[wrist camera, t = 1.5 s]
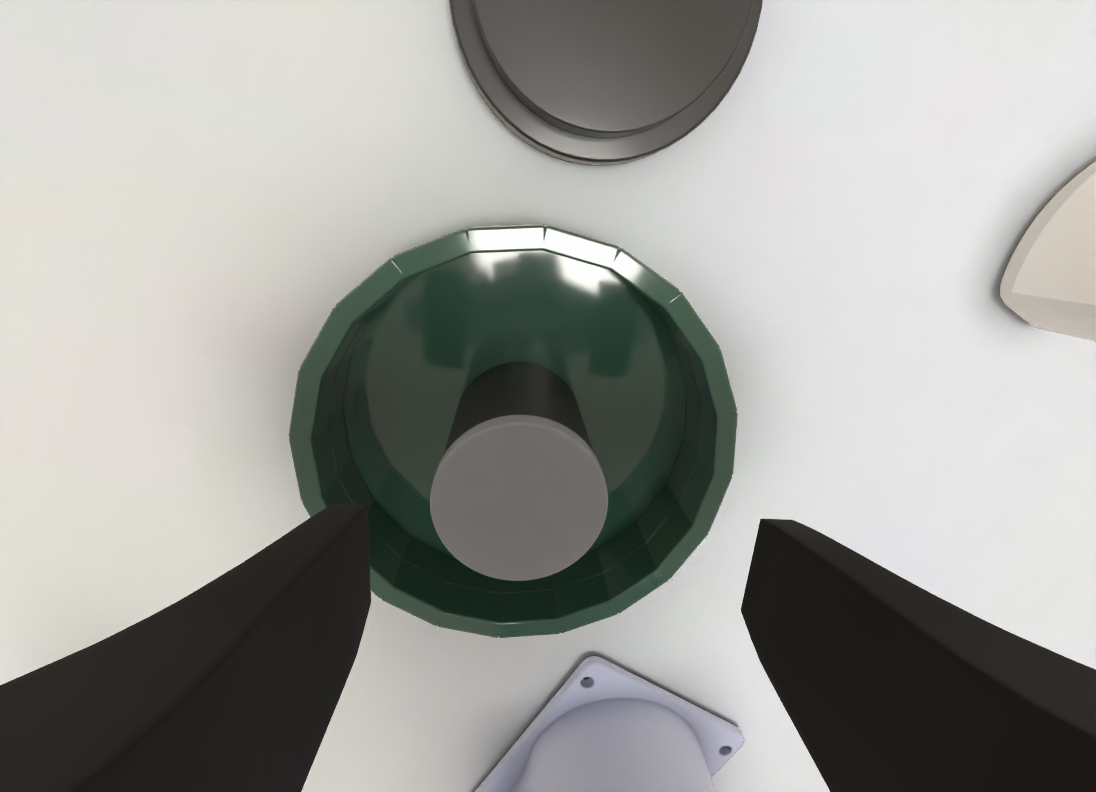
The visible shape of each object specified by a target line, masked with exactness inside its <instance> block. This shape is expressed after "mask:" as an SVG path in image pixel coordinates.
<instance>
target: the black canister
mask: <svg viewBox="0 0 1096 792" xmlns="http://www.w3.org/2000/svg"><path fill="white" fill-rule="evenodd" d="M607 509H608V492H607V485H606V481H605V477H604V474H603V472H602V469H601V466H600V464H599V461H598V459H597V457H596V456H595V454H594V451H593V448H592V445H591V443H590V440H589V437H588V434H587V431H586V428H585V425H584V422H583V419H582V416H581V413H580V410H579V407H578V404H577V401H576V399H575V396H574V394H573V393H572V391H571V389H570V388H569V387H568V385H567V384H566V383H565V382H564V381H563V380H562V379H561V378H560V377H559V376H557V375H556V374H555V373H553V372H551V371H550V370H548V369H546V368H543V367H541V366H538V365H534V364H530V363H522V362H521V363H507V364H502V365H499V366H496V367H493V368H491V369H489V370H487V371H485V372H483V373H482V374H481V375H479V376H478V377H477V378H475V379H474V380H473V381H472V382H471V383H470V385H469V386H468V387H467V389H466V390H465V391H464V393H463V395H462V397H461V399H460V402H459V404H458V408H457V411H456V414H455V418H454V421H453V424H452V428H451V431H450V434H449V438H448V441H447V444H446V448H445V451H444V454H443V458H442V459H441V461H440V463H439V466H438V468H437V471H436V473H435V477H434V480H433V484H432V488H431V495H430V510H431V516H432V521H433V524H434V527H435V529H436V532H437V534H438V536H439V537H440V539H441V541H442V543H443V544H444V545H445V547H446V548H447V549H448V551H449V552H450V553H451V554H452V555H453V556H454V557H455V558H456V559H458V560H459V561H460V562H461V563H463V564H464V565H466V566H467V567H469V568H471V569H472V570H474V571H476V572H479V573H481V574H483V575H486V576H489V577H493V578H497V579H502V580H512V581H524V580H533V579H539V578H543V577H546V576H549V575H552V574H555V573H557V572H559V571H561V570H563V569H565V568H567V567H569V566H570V565H572V564H573V563H575V562H576V561H577V560H578V559H580V558H581V557H582V556H583V555H584V554H585V553H586V552H587V551H588V550H589V549H590V547H591V546H592V545H593V543H594V542H595V540H596V539H597V537H598V536H599V534H600V532H601V530H602V528H603V525H604V522H605V519H606V514H607Z"/></svg>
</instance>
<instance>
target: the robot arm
mask: <svg viewBox="0 0 1096 792" xmlns="http://www.w3.org/2000/svg"><path fill="white" fill-rule="evenodd" d="M370 604H371V589H370V557H369V526H368V505H350V504H332V505H330V506H328V507H326V508H325V509H323V510H321V511H320V512H318V513H317V514H315V515H314V516H312V517H311V518H309V519H308V520H306V521H305V522H303V523H302V524H300V525H299V526H297V527H296V528H294V529H293V530H292V531H290V532H289V533H287V534H286V535H284V536H283V537H281V538H280V539H278V540H277V541H275V542H274V543H272V544H271V545H269V546H268V547H266V548H264V549H263V550H261V551H260V552H258V553H257V554H255V555H254V556H252V557H251V558H249V559H248V560H246V561H245V562H243V563H241V564H240V565H238V566H236V567H235V568H233V569H231V570H230V571H228V572H227V573H225V574H223V575H222V576H220V577H218V578H217V579H215V580H213V581H212V582H210V583H208V584H207V585H205V586H203V587H202V588H200V589H198V590H197V591H195V592H193V593H192V594H190V595H188V596H187V597H185V598H183V599H181V600H180V601H178V602H176V603H174V604H172V605H171V606H169V607H167V608H165V609H163V610H161V611H159V612H158V613H156V614H154V615H152V616H150V617H148V618H146V619H144V620H142V621H140V622H138V623H136V624H134V625H132V626H130V627H128V628H126V629H124V630H122V631H120V632H118V633H116V634H114V635H112V636H110V637H108V638H106V639H104V640H102V641H100V642H98V643H96V644H94V645H92V646H89V647H87V648H85V649H83V650H80V651H78V652H76V653H73V654H71V655H69V656H67V657H64V658H62V659H60V660H57V661H55V662H53V663H51V664H48V665H46V666H44V667H41V668H39V669H37V670H35V671H32V672H30V673H28V674H25V675H23V676H21V677H19V678H16V679H14V680H12V681H9V682H7V683H5V684H3V685H0V792H301V791H302V788H303V786H304V783H305V781H306V778H307V776H308V773H309V771H310V769H311V766H312V764H313V761H314V759H315V756H316V754H317V752H318V749H319V747H320V744H321V742H322V739H323V737H324V734H325V732H326V730H327V727H328V725H329V722H330V720H331V717H332V715H333V713H334V710H335V708H336V705H337V703H338V700H339V698H340V695H341V693H342V691H343V688H344V686H345V683H346V681H347V678H348V676H349V673H350V671H351V668H352V666H353V663H354V661H355V658H356V655H357V652H358V648H359V645H360V641H361V638H362V634H363V631H364V627H365V623H366V619H367V615H368V611H369V607H370ZM741 612H742V615H743V617H744V620H745V623H746V626H747V629H748V631H749V634H750V637H751V639H752V642H753V644H754V647H755V649H756V652H757V654H758V657H759V659H760V662H761V664H762V666H763V668H764V670H765V671H766V673H767V675H768V677H769V679H770V681H771V683H772V685H773V687H774V688H775V690H776V692H777V694H778V696H779V698H780V700H781V702H782V703H783V705H784V707H785V709H786V711H787V713H788V715H789V716H790V718H791V720H792V722H793V724H794V726H795V727H796V729H797V731H798V733H799V735H800V737H801V738H802V740H803V742H804V744H805V746H806V748H807V749H808V751H809V753H810V755H811V757H812V759H813V760H814V762H815V764H816V766H817V768H818V770H819V771H820V773H821V775H822V777H823V779H824V781H825V782H826V784H827V786H828V788H829V790H830V792H1096V670H1095V669H1093V668H1090V667H1088V666H1085V665H1083V664H1080V663H1078V662H1076V661H1073V660H1071V659H1068V658H1066V657H1064V656H1062V655H1059V654H1057V653H1055V652H1053V651H1050V650H1048V649H1046V648H1043V647H1041V646H1039V645H1037V644H1034V643H1032V642H1030V641H1028V640H1025V639H1023V638H1021V637H1019V636H1016V635H1014V634H1012V633H1010V632H1008V631H1005V630H1003V629H1001V628H999V627H997V626H995V625H993V624H991V623H989V622H986V621H984V620H982V619H980V618H978V617H976V616H974V615H972V614H970V613H968V612H966V611H964V610H963V609H961V608H959V607H957V606H955V605H953V604H951V603H949V602H947V601H945V600H943V599H941V598H939V597H937V596H935V595H933V594H931V593H929V592H927V591H926V590H924V589H922V588H920V587H918V586H916V585H914V584H912V583H911V582H909V581H907V580H905V579H903V578H901V577H900V576H898V575H896V574H894V573H892V572H891V571H889V570H887V569H885V568H883V567H881V566H880V565H878V564H876V563H874V562H873V561H871V560H869V559H867V558H865V557H864V556H862V555H860V554H858V553H856V552H855V551H853V550H851V549H849V548H847V547H846V546H844V545H842V544H840V543H838V542H836V541H835V540H833V539H831V538H829V537H827V536H825V535H823V534H821V533H820V532H818V531H816V530H814V529H812V528H810V527H807V526H805V525H803V524H801V523H798V522H796V521H794V520H780V519H761V520H760V524H759V529H758V533H757V538H756V543H755V547H754V552H753V556H752V561H751V566H750V570H749V575H748V579H747V584H746V588H745V593H744V598H743V602H742V607H741ZM585 677H590V678H589V679H586V680H584V679H583V678H585ZM743 743H744V737H743V734H742V732H741V730H740V729H739V728H738V727H736V726H734V725H732V724H730V723H728V722H727V721H725V720H723V719H721V718H719V717H717V716H715V715H713V714H711V713H709V712H707V711H705V710H703V709H701V708H699V707H697V706H695V705H693V704H691V703H689V702H687V701H685V700H683V699H681V698H679V697H677V696H675V695H673V694H671V693H670V692H668V691H666V690H664V689H662V688H660V687H658V686H656V685H654V684H652V683H650V682H648V681H646V680H644V679H642V678H640V677H638V676H636V675H634V674H632V673H630V672H628V671H626V670H624V669H622V668H620V667H618V666H616V665H614V664H612V663H611V662H609V661H607V660H605V659H603V658H601V657H597V656H591V657H588V658H586V659H585V660H584V661H583V662H582V663H581V664H580V665H579V667H578V668H577V669H576V670H575V671H574V673H573V674H572V675H571V676H570V677H569V679H568V680H567V681H566V682H565V683H564V685H563V686H562V687H561V688H560V689H559V691H558V692H557V693H556V694H555V695H554V697H553V698H552V699H551V700H550V702H549V703H548V704H547V705H546V706H545V708H544V709H543V710H542V711H541V712H540V714H539V715H538V716H537V717H536V718H535V720H534V721H533V722H532V723H531V724H530V726H529V727H528V728H527V729H526V730H525V732H524V733H523V734H522V735H521V737H520V738H519V739H518V740H517V741H516V743H515V744H514V745H513V746H512V747H511V749H510V750H509V751H508V752H507V753H506V755H505V756H504V757H503V758H502V759H501V761H500V762H499V763H498V764H497V765H496V767H495V768H494V769H493V770H492V771H491V773H490V774H489V775H488V776H487V778H486V779H485V780H484V781H483V782H482V784H481V785H480V786H479V787H478V788H477V790H476V791H475V792H716V789H715V786H714V784H713V781H712V778H711V777H712V776H713V775H714V774H715V773H716V772H717V771H718V770H719V769H720V768H721V767H722V766H723V765H724V764H725V763H726V762H727V761H728V760H729V759H730V758H731V757H732V756H733V755H734V754H735V753H736V752H737V751H738V750H739V749H740V748H741V746H742V745H743Z"/></svg>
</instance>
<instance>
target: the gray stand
mask: <svg viewBox="0 0 1096 792" xmlns="http://www.w3.org/2000/svg"><path fill="white" fill-rule="evenodd" d="M449 2H450V8H451V15H452V21H453V26H454V29H455V33H456V37H457V40H458V44H459V47H460V50H461V54H462V56H463V59H464V61H465V64H466V66H467V69H468V71H469V74H470V76H471V78H472V80H473V82H474V84H475V85H476V87H477V89H478V91H479V93H480V95H481V96H482V97H483V99H484V100H485V102H486V103H487V104H488V106H489V107H490V109H491V110H492V111H493V113H494V114H495V115H496V116H497V117H498V118H499V119H500V120H501V121H502V122H503V123H504V125H505V126H506V127H507V128H509V129H510V130H511V131H512V132H513V133H515V134H516V135H517V136H518V137H519V138H521V139H522V140H523V141H525V142H527V143H528V144H530V145H531V146H533V147H534V148H536V149H538V150H540V151H542V152H544V153H546V154H548V155H551V156H553V157H555V158H559V159H562V160H565V161H569V162H572V163H579V164H585V165H614V164H621V163H627V162H631V161H634V160H638V159H641V158H644V157H647V156H649V155H651V154H653V153H656V152H658V151H660V150H662V149H665V148H667V147H669V146H670V145H672V144H674V143H675V142H677V141H679V140H680V139H682V138H684V137H685V136H686V135H688V134H689V133H690V132H691V131H693V130H694V129H695V128H696V127H698V126H699V125H700V124H701V123H702V122H703V121H704V120H705V119H706V118H707V117H708V116H709V115H710V114H711V113H712V112H713V111H714V110H715V109H716V108H717V106H718V105H719V104H720V102H721V101H722V100H723V99H724V97H725V96H726V95H727V93H728V92H729V90H730V89H731V87H732V85H733V84H734V82H735V80H736V79H737V77H738V75H739V74H740V72H741V70H742V67H743V65H744V63H745V61H746V59H747V57H748V54H749V52H750V49H751V46H752V43H753V40H754V37H755V34H756V31H757V27H758V22H759V17H760V13H761V8H762V0H449Z"/></svg>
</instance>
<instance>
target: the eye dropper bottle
mask: <svg viewBox="0 0 1096 792" xmlns="http://www.w3.org/2000/svg"><path fill="white" fill-rule="evenodd" d="M1000 296H1001V298H1002V300H1003V301H1004V303H1005V304H1006V305H1007V306H1008V307H1009V308H1010V309H1011V310H1013V311H1014V312H1015V313H1016V314H1018V315H1019V316H1020V317H1022V318H1023V319H1024V320H1025V321H1027V322H1028V323H1030V324H1031V325H1033V326H1034V327H1036V328H1039V329H1043V330H1047V331H1051V332H1055V333H1060V334H1065V335H1069V336H1074V337H1079V338H1083V339H1088V340H1093V341H1096V161H1095V162H1094V163H1093V164H1091V165H1090V166H1088V167H1087V168H1086V169H1084V170H1083V171H1082V172H1080V173H1079V174H1078V175H1077V176H1076V177H1074V178H1073V179H1072V180H1071V181H1070V182H1069V183H1067V184H1066V185H1065V186H1064V187H1063V188H1062V189H1061V190H1060V191H1059V192H1058V193H1057V194H1056V195H1055V196H1054V197H1053V198H1052V199H1051V200H1050V201H1049V202H1048V203H1047V205H1046V206H1045V207H1044V208H1043V209H1042V210H1041V212H1040V213H1039V214H1038V216H1037V217H1036V218H1035V219H1034V221H1033V222H1032V224H1031V225H1030V226H1029V228H1028V229H1027V231H1026V232H1025V234H1024V235H1023V237H1022V239H1021V240H1020V242H1019V244H1018V246H1017V247H1016V249H1015V251H1014V253H1013V255H1012V257H1011V259H1010V261H1009V263H1008V265H1007V268H1006V270H1005V273H1004V275H1003V278H1002V281H1001V284H1000Z"/></svg>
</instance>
